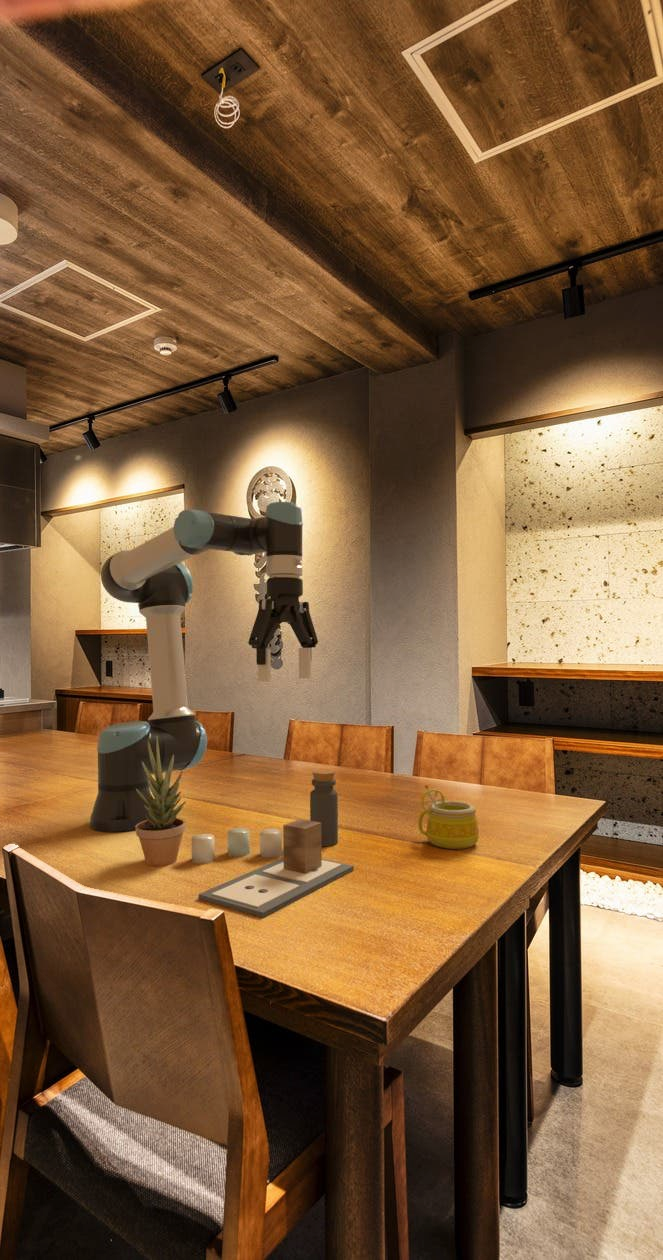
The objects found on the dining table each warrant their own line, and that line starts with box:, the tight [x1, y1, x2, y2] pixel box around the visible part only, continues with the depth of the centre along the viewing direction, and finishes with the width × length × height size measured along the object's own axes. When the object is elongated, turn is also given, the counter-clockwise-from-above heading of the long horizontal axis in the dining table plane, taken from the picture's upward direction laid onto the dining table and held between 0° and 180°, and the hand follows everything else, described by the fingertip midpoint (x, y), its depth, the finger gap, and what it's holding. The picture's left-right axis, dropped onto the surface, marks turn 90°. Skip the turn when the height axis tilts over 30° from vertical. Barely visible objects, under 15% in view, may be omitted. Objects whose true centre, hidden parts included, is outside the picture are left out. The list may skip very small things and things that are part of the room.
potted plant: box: [135, 736, 187, 867], centre depth 132 cm, size 10×10×25 cm
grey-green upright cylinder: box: [227, 827, 251, 858], centre depth 137 cm, size 4×4×4 cm
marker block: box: [282, 818, 323, 874], centre depth 125 cm, size 5×5×8 cm
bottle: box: [309, 769, 339, 847], centre depth 144 cm, size 6×6×15 cm
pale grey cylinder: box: [191, 833, 215, 865], centre depth 133 cm, size 4×4×4 cm
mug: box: [417, 784, 480, 850], centre depth 143 cm, size 13×11×12 cm
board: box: [198, 856, 354, 918], centre depth 119 cm, size 14×26×1 cm, turn 146°
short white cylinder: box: [259, 828, 283, 859], centre depth 136 cm, size 4×4×4 cm
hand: (285, 679), depth 141 cm, fingers open, 13 cm apart
